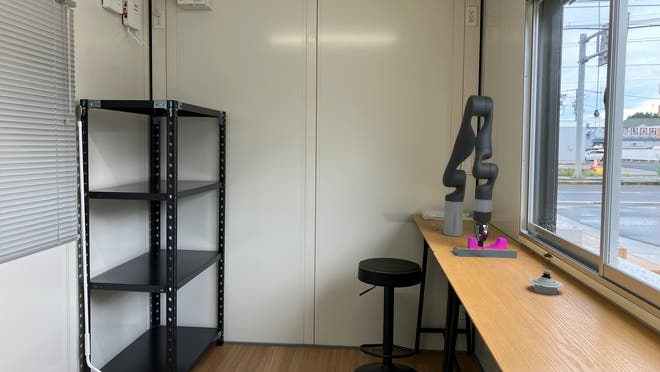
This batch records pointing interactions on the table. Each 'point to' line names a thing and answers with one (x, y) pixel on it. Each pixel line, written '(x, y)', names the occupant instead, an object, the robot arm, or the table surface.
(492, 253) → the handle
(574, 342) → the table surface
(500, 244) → the toy block
